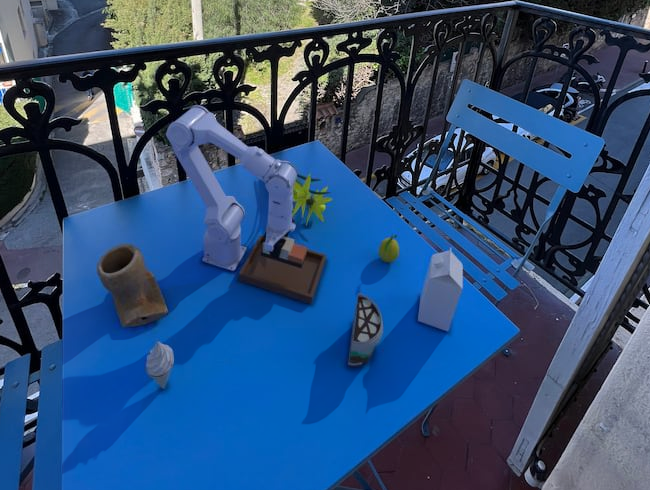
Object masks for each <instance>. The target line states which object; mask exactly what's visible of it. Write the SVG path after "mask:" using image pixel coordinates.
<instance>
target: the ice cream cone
mask: <svg viewBox="0 0 650 490" xmlns="http://www.w3.org/2000/svg"><path fill="white" fill-rule="evenodd" d="M174 356H175V355H174V351H173V349H172V348H171V346H169V345H168V344H164V343H162V342H160V341H158V340H157V341H156V342H155V344H154V347H153V348H152V349H151V350H149V354H147V356H146V364H145V370H146V373H147V375H148V376H149V377H151V378H152V379H153V380H154V381H155V383H156V384H157V385H158V386H159V387H160V388H161V389H162V390H164V389H165V388H166V385H167V383H168V379H169V376H170V373H171V370H172V368H173V366H174V362H175V357H174Z"/></svg>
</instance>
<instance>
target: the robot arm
mask: <svg viewBox="0 0 650 490" xmlns="http://www.w3.org/2000/svg"><path fill="white" fill-rule="evenodd" d="M165 136H166V138H167V139H168V142H169V144H170V145H171V148H172V151H173V153H174V154H175V156H176V158H177V159H178V161H179V163H180V165H181V166H182V168H183V171H184V172H185V173H186V175H187V177H188V178H189V180H190V182H191V184H192V186H193V187H194V189H195V190H196V192H197V194H198V196H199V197H200V199H201V200H202V203H203V204H204V206H205V208H206V211H205V215H204V220H203V221H204V224H205V226H206V230H205V232H204V236H203V240H202V244H203V245H202V247H203V258H202V262H204V263H207V264H210V265H212V266H215V267H218V268H222V269H225V270H228V271H231V272H235V271H236V269H237V268H238V266H239V264H240V262H241V261H242V259H243V257H244V255H245V254H246V252H247V248H248V247H245V246H242V226H241V225H242V220H244V218H245V217H246V211H245V208H244V206H243V205H242V204H240V203H239V202H238V201H237V199H236V198H235V197H234V196H232V195H227V194H226V193H225V192H224V190H223V188H222V186H221V184H220V183H219V182H218V180H217V178H216V176H215V174H214V172H213V170H212V169H211V167H210V165H209V163H208V162H207V160H206V158H205V156H204V155H203V153H202V151H201V149H200V148H199V146H201V145H206V144H212V145H214V146H215V147H217V148H219V149H221V150H222V151H225V152H226V153H228V154H229V155H231V156H232V157H235V158H237V159H239V161H240V165H241V168H243V169H244V170H246V171H247V172H249V173H250V174H251V175H253V176H254V177H255V178H257V179H259V180H260V181H262V182H263V183H264V185H265V189H266V190H267V192H268V208H267V209H268V211H267V220H266V221H267V222H266V231H265V232H264V234H263V235H262V236H263V242H264V249H265V250H268V251H269V252H270V255H271V257H274V258H277V259H278V258H279V256H280V253H281V249H282V247H283V246H284V244H285V242H286V240H285V239H282V237H283V236H285V237H288V238H289V235H290V232H295V229H296V220H295V218H294V217H293V216H292V213H293V212H292V210H293V205H292V204H294V201H293V184H294V182H295V180H296V178H297V179H298V177H297V173H298V170H297V168H296V166H295V165H294V164H292V163H291V162H290V161H288V160H281V159H276V158H274V157H273V156H271V155H270V154H268V153H267V152H265V150H264V149H262V148H259V147H258V146H256V145H255V146H249V145H247V144H245V143H244V142H243V141H242V140H240V139H239V138H238V137H236V136H235V135H234V134H233V133H232V132H230V131H229V130H227V129H226V128H225V127H223V126H222V125H221V124H220V123H219V122H218V121H217V118H216V116H215V114H214V113H213V112H210V111H209V110H208V109H207V108H206V107H205V106H203V105H199V104H198V105H194V106H191V107H190V108H189V109H188V111H186V112H184V113H183V114H182V115H181V116H179V118H176V120H175V121H173V122H171V123H170V124H169V125H168V128H167V130H166V132H165ZM275 160H276V161H275ZM273 163H274V164H273Z"/></svg>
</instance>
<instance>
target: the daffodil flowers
mask: <svg viewBox="0 0 650 490" xmlns="http://www.w3.org/2000/svg"><path fill="white" fill-rule="evenodd" d="M275 161H276V160H275ZM273 164H274V163H273ZM298 178H299V179H301V180H303V181H304V183H303V182H302V181H300V180H299V179H298ZM320 181H322V179H321V178H313V177H312V176H311V172H309V174H308V175H307V176H304V175H302V174H300V173H298V172H297V178H296V180H295V182H294V184H293V202H296V203H293V204H292V205H293V210H292V218H296V213H297V211H298V210H299V209H300V207H301V213H302V214H301V218H304V214H305V210H306V206H307V207H308V212H307V217H306V223H305V227H307V226H308V222H309V220H310V219H311V216H312V214H313V213H314V215H315V216H316V217H317V218H318V219H319V220H320V221H322V223H325V219H324V216H323V213H324V212H325V211H326V205H325V204H327V203H329V202H331V201H332V200H333V198H332V197H328V196H324V195H328V194H331V193H332V192H331V191H327V190H328V188H329V186H326V187H324V188H322V189H321V190H320V191H319V189H317V190H311V189H310V187H311V185H312V184H311V183H314V182H320ZM323 196H324V197H323Z"/></svg>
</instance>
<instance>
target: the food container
mask: <svg viewBox="0 0 650 490" xmlns="http://www.w3.org/2000/svg"><path fill="white" fill-rule="evenodd" d="M383 333H384V322H383V316H382V313H381V310H380V309H379V307H378V305H377V304H376V302H374V300H372V299H371V298H370V297H368V296H367V295H365V294H363V293H359V292H358V293H357V299H356V304H355V310H354V315H353V321H352V328H351V337H350V345H349V346H350V348H349V354H348V362H347V367H349V368H358V367H362V366H364V365H365V364H367V363H368V362H369V360H371V357H372V354H373V352H374V349H375V347H376V345H378V344H379V342H380V340H381V338H382V336H383Z"/></svg>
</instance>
